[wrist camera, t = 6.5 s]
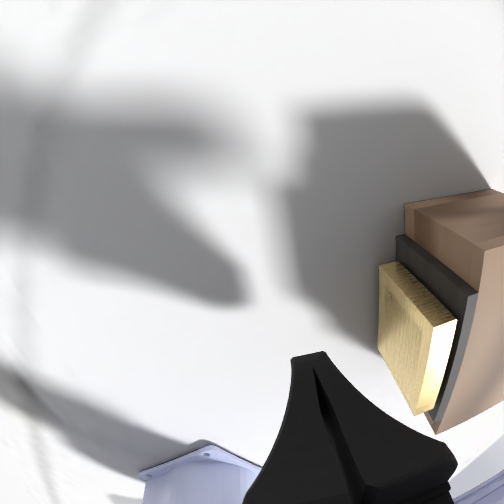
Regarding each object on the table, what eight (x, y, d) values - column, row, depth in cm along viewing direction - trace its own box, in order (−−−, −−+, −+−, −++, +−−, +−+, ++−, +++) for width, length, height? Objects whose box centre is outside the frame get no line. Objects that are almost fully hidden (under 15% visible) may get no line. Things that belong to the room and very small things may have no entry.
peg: (377, 347, 15) (414, 415, 11) (378, 265, 13) (433, 327, 9) (483, 310, 15) (530, 357, 10) (495, 235, 13) (557, 274, 9)
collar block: (389, 367, 17) (427, 438, 11) (395, 205, 13) (473, 254, 8) (471, 337, 17) (517, 391, 11) (491, 189, 13) (569, 222, 7)
